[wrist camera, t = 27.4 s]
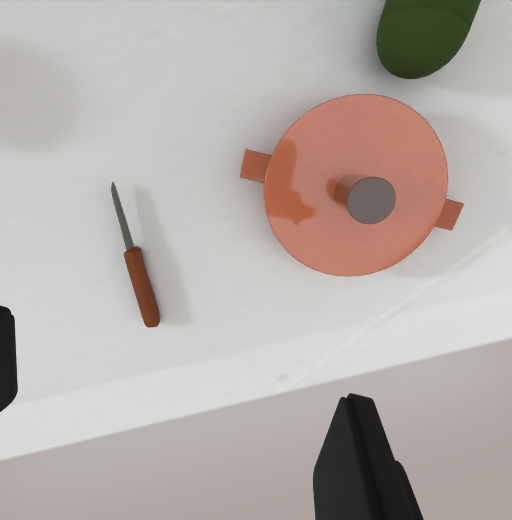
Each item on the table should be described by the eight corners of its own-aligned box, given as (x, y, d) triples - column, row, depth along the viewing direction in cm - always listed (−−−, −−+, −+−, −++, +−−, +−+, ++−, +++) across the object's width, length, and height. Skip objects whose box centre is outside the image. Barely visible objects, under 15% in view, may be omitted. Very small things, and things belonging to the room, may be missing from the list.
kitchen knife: (163, 321, 35) (156, 329, 33) (152, 322, 35) (144, 331, 33) (124, 180, 30) (113, 181, 28) (111, 182, 31) (99, 183, 29)
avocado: (392, -38, 23) (426, -105, 17) (470, -21, 23) (529, -82, 17) (357, 78, 26) (376, 53, 20) (427, 95, 25) (467, 74, 20)
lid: (290, 77, 24) (290, 42, 17) (472, 121, 24) (546, 103, 17) (248, 249, 29) (235, 276, 22) (401, 289, 28) (436, 329, 21)
